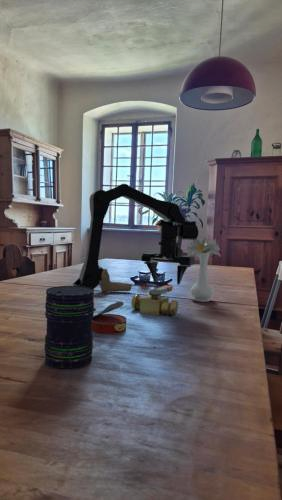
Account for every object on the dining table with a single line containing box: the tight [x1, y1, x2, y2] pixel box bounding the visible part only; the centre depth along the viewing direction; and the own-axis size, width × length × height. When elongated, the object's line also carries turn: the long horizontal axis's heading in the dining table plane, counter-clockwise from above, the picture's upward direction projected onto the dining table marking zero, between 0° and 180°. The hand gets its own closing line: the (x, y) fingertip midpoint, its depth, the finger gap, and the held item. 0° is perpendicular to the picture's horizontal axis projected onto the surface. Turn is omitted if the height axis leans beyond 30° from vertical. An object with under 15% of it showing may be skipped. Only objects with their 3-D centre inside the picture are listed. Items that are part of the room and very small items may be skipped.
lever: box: [148, 285, 173, 296], centre depth 117 cm, size 13×4×2 cm, turn 151°
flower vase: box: [186, 237, 221, 303], centre depth 135 cm, size 13×18×25 cm
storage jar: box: [44, 285, 95, 371], centre depth 71 cm, size 10×10×15 cm
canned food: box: [92, 301, 127, 335], centre depth 94 cm, size 11×10×10 cm
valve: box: [130, 294, 179, 317], centre depth 114 cm, size 7×15×6 cm, turn 61°
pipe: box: [98, 268, 133, 293], centre depth 145 cm, size 6×17×10 cm, turn 98°
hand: (166, 282), depth 121 cm, fingers open, 9 cm apart
